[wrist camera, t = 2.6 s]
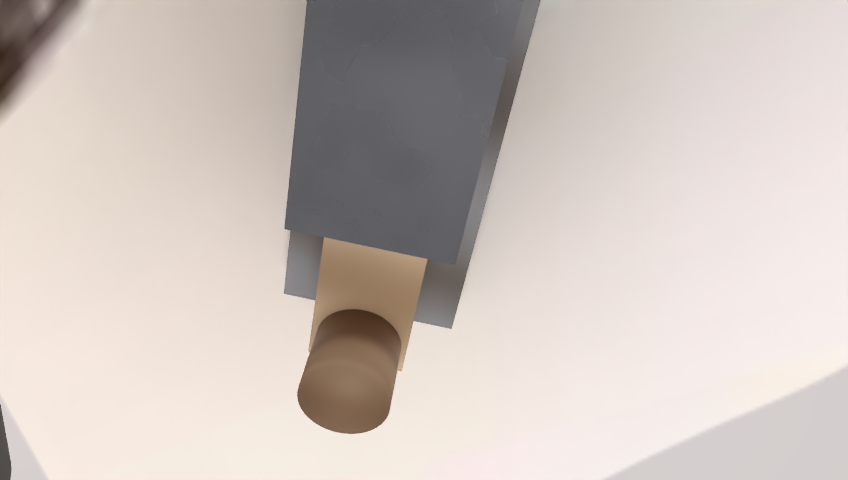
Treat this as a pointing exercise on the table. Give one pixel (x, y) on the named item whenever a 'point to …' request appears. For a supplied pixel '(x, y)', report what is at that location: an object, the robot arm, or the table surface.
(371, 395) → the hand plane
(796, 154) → the table surface
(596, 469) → the table surface
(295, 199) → the grey rectangular box
